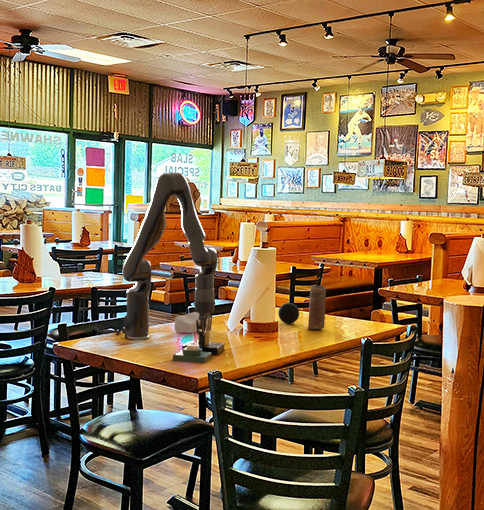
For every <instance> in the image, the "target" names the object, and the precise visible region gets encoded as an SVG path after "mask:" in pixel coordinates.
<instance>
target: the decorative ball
mask: <svg viewBox="0 0 484 510" xmlns="http://www.w3.org/2000/svg"><path fill="white" fill-rule="evenodd" d="M277 313H278V318H279V320H280V321H281V322H282V323H284V324H286V325H291V324H294V323H295V322H296V321H298V319H299V317H300V310H299V308H298V306H297V305H296V304H294V303H292V302H285V303H282V305H281V306H280V307H279V309H278V312H277Z"/></svg>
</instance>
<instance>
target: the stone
mask: <svg viewBox="0 0 484 510" xmlns="http://www.w3.org/2000/svg"><path fill="white" fill-rule="evenodd" d="M198 317H199V313H197V312H195V311H193V312H190V313H187V314H183V315H179V316H178V315H177V316H176V317H175V319H174V331H175V333H178V334H179V333H182V334H183V333H184V334H185V333H188V334H189V333H191V334H192V333H197V328H196V320H198Z"/></svg>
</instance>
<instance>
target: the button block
mask: <svg viewBox="0 0 484 510" xmlns="http://www.w3.org/2000/svg"><path fill="white" fill-rule="evenodd" d="M212 356H213V355H212V352H202V348H199V347H198V350H187V347H186V348H183V350H182V349H180V350H178V351H177V352H175V353H174V354H172V362H180V363H181V362H182V363H193V364H206V363H207V362H208V361H209V360H211V359H212Z"/></svg>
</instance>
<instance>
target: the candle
mask: <svg viewBox="0 0 484 510" xmlns="http://www.w3.org/2000/svg"><path fill="white" fill-rule="evenodd" d="M326 295H327V288H326V287H325V286H323V285H311V286H310V289H309V306H308V307H309V309H308V322H307V323H308V325H307V329H310V330H314V331H321V330H323V329H325V324H326V323H325V321H326V301H327V300H326V299H327V298H326V297H327V296H326Z"/></svg>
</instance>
